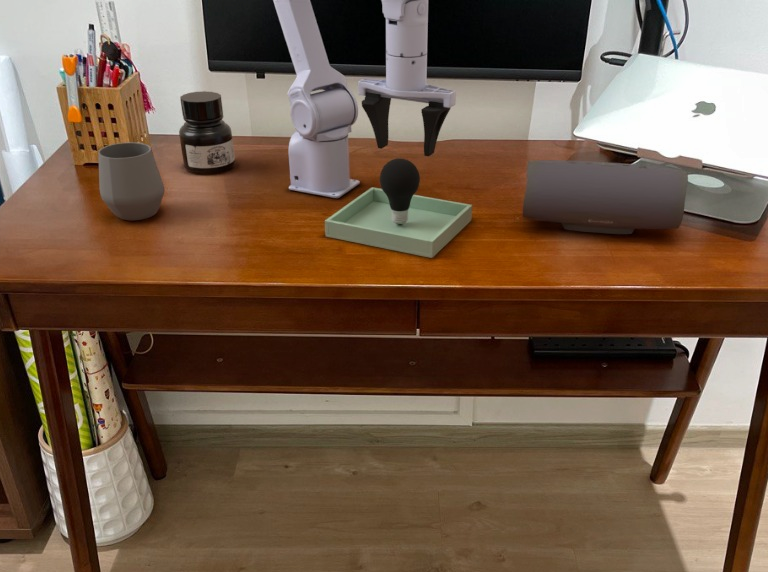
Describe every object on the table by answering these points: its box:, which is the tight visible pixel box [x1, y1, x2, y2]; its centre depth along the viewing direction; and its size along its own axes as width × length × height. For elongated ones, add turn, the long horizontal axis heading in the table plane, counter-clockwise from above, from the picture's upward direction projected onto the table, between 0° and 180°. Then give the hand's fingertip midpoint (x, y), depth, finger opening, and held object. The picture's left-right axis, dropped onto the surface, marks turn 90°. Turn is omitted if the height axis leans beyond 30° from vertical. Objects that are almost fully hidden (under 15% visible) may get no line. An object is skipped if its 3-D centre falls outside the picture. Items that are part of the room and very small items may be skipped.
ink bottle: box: [178, 90, 236, 175], centre depth 143 cm, size 10×9×12 cm
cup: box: [97, 141, 165, 222], centre depth 125 cm, size 10×9×10 cm
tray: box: [324, 187, 473, 259], centre depth 124 cm, size 17×15×2 cm
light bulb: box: [379, 157, 421, 226], centre depth 122 cm, size 6×6×10 cm
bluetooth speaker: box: [522, 159, 689, 235], centre depth 123 cm, size 23×9×10 cm, turn 80°
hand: (405, 150), depth 123 cm, fingers open, 7 cm apart
